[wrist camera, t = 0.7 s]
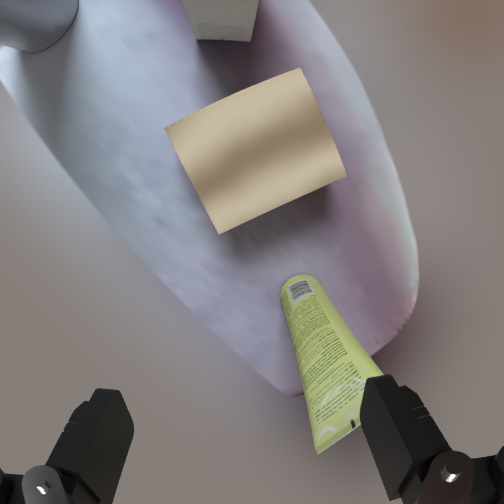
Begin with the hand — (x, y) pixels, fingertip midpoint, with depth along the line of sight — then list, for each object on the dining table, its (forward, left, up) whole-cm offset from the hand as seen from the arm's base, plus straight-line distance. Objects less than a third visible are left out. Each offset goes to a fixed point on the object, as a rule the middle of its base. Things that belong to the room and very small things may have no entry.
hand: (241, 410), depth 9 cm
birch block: (-5, +5, -25) cm, 26 cm away
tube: (+12, +3, -25) cm, 27 cm away
